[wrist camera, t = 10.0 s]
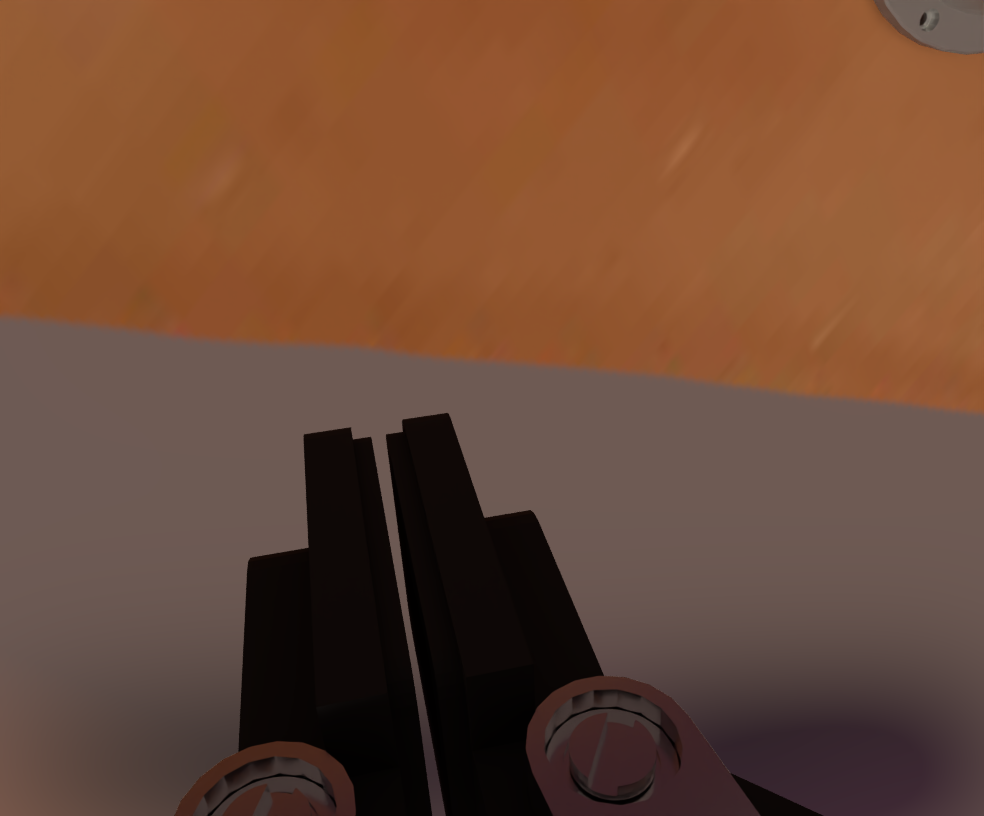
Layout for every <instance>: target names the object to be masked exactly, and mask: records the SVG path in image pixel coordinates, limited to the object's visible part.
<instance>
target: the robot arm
mask: <svg viewBox="0 0 984 816" xmlns="http://www.w3.org/2000/svg"><path fill="white" fill-rule="evenodd" d="M874 2H875V4H876V5H877V7H878V9H879V11H880V12H881V14H882V16H883V17H884V18H885V19H886V20H887V21H888V22H889V23H890V24H891V25H892V26H893V27H894V28H895V29H896V30H897V31H898V32H899V33H901V34H902V35H904V36H906V37H907V38H909V39H911V40H912V41H914V42H916V43H917V44H919V45H922V46H926V47H929V48H933V49H937V50H940V51H945V52H952V53H959V54H966V55H967V54H978V53H984V0H874ZM402 426H403V432H399V433H393V434H386V441H387V449H388V457H389V464H390V472H391V480H392V487H393V495H394V502H395V510H396V517H397V525H398V533H399V541H400V548H401V556H402V564H403V571H404V579H405V587H406V594H407V602H408V609H409V616H410V622H411V629H412V634H413V640H414V646H415V651H416V656H417V662H418V666H419V672H420V678H421V683H422V689H423V695H424V700H425V705H426V710H427V716H428V722H429V727H430V732H431V738H432V743H433V749H434V754H435V760H436V765H437V770H438V776H439V781H440V786H441V792H442V798H443V802H444V808H445V814H446V816H823V815H821V814H818V813H816V812H814V811H812V810H810V809H807V808H805V807H803V806H801V805H799V804H797V803H794V802H792V801H790V800H788V799H786V798H783V797H781V796H779V795H777V794H775V793H773V792H771V791H768V790H766V789H764V788H762V787H760V786H757V785H755V784H753V783H751V782H749V781H747V780H744V779H742V778H740V777H738V776H736V775H733V774H731V773H730V772H729V771H728V770H727V768H726V767H725V765H724V764H723V763H722V761H721V760H720V758H719V757H718V756H717V754H716V753H715V751H714V750H713V749H712V747H711V746H710V744H709V743H708V742H707V740H706V739H705V738H704V736H703V735H702V734H701V732H700V731H699V729H698V728H697V727H696V725H695V724H694V722H693V721H692V719H691V718H690V717H689V715H688V714H687V713H686V712H685V711H684V710H683V709H682V708H681V707H680V706H679V705H678V704H677V703H676V702H675V701H674V700H673V699H672V698H671V697H670V696H668V695H666V694H664V693H663V692H661V691H660V690H658V689H656V688H654V687H653V686H651V685H649V684H646V683H643V682H640V681H636V680H633V679H630V678H626V677H613V676H604V675H603V672H602V670H601V668H600V665H599V663H598V660H597V658H596V656H595V653H594V651H593V649H592V646H591V644H590V642H589V639H588V637H587V634H586V632H585V630H584V628H583V625H582V623H581V621H580V618H579V616H578V613H577V611H576V609H575V606H574V604H573V602H572V599H571V597H570V595H569V592H568V590H567V588H566V585H565V583H564V580H563V578H562V576H561V573H560V571H559V569H558V567H557V564H556V562H555V559H554V557H553V554H552V552H551V550H550V547H549V545H548V543H547V540H546V538H545V536H544V533H543V531H542V529H541V526H540V524H539V522H538V520H537V518H536V516H535V514H534V513H533V512H532V511H531V510H528V511H523V512H517V513H511V514H505V515H499V516H493V517H488V518H484V516H483V513H482V510H481V507H480V504H479V501H478V498H477V495H476V492H475V489H474V486H473V483H472V480H471V477H470V474H469V471H468V468H467V465H466V463H465V460H464V457H463V454H462V451H461V448H460V445H459V442H458V439H457V436H456V433H455V430H454V427H453V424H452V421H451V418H450V416H449V414H448V413H444V414H437V415H431V416H424V417H417V418H410V419H404V420H402ZM304 458H305V479H306V501H307V521H308V522H307V523H308V545H309V548H305V549H299V550H294V551H287V552H282V553H276V554H270V555H264V556H258V557H252V558H250V560H249V561H248V569H247V586H246V607H245V627H244V647H243V668H242V688H241V689H242V690H241V709H240V731H239V752H238V753H236V754H234V755H232V756H229V757H227V758H225V759H223V760H222V761H220V762H219V763H218V764H217V765H215V766H214V767H213V768H211V769H210V770H209V771H208V772H206V773H205V774H204V775H202V776H201V777H200V778H199V779H198V780H197V781H196V783H195V784H194V785H193V786H192V788H191V789H190V790H189V791H188V793H187V794H186V795H185V796H184V798H183V799H182V800H181V801H180V804H179V806H178V808H177V810H176V813H175V815H174V816H432V811H431V803H430V796H429V789H428V781H427V773H426V766H425V758H424V751H423V744H422V736H421V728H420V721H419V714H418V706H417V700H416V694H415V686H414V680H413V674H412V668H411V662H410V656H409V650H408V644H407V639H406V633H405V627H404V621H403V616H402V610H401V604H400V599H399V593H398V587H397V582H396V576H395V570H394V564H393V559H392V553H391V547H390V542H389V536H388V530H387V525H386V519H385V513H384V508H383V502H382V496H381V491H380V484H379V479H378V473H377V467H376V462H375V456H374V450H373V445H372V439H371V437H367V438H361V439H354V440H353V438H352V432H351V428H344V429H337V430H330V431H323V432H317V433H311V434H304Z"/></svg>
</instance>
